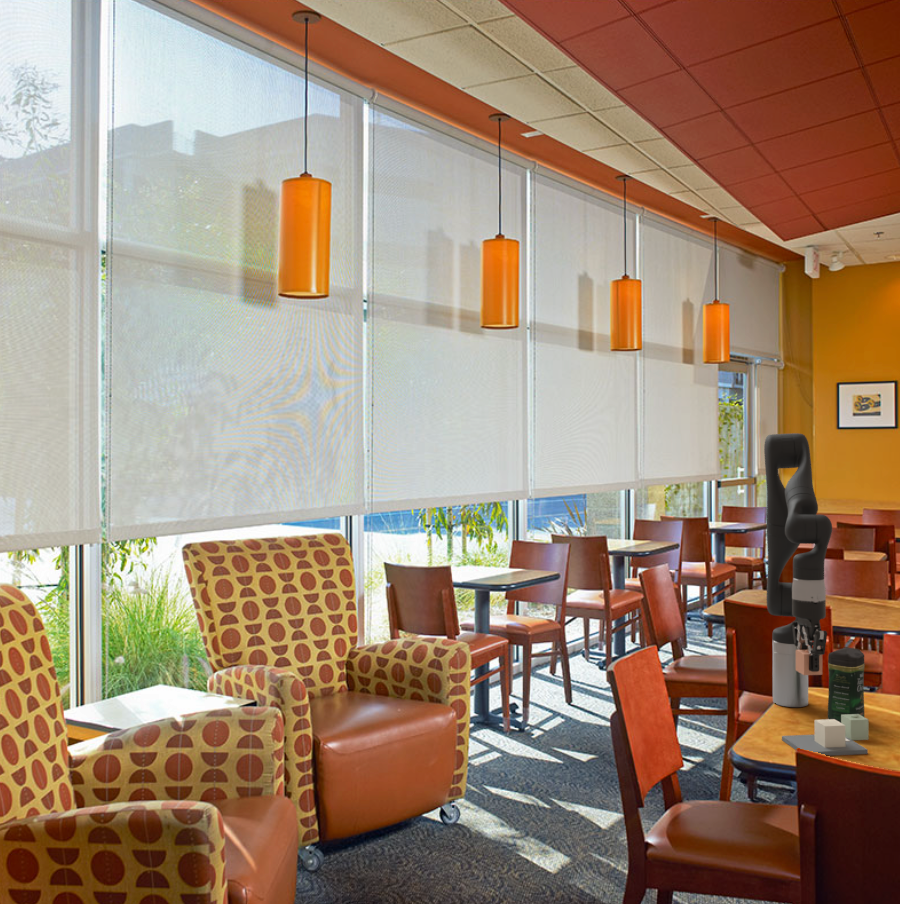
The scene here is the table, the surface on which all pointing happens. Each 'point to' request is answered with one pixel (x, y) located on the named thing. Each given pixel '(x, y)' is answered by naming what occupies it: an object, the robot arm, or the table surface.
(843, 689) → the coffee jar
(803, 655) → the brick terracotta
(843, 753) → the build board
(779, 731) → the table surface
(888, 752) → the table surface
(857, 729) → the brick sage
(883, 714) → the table surface
